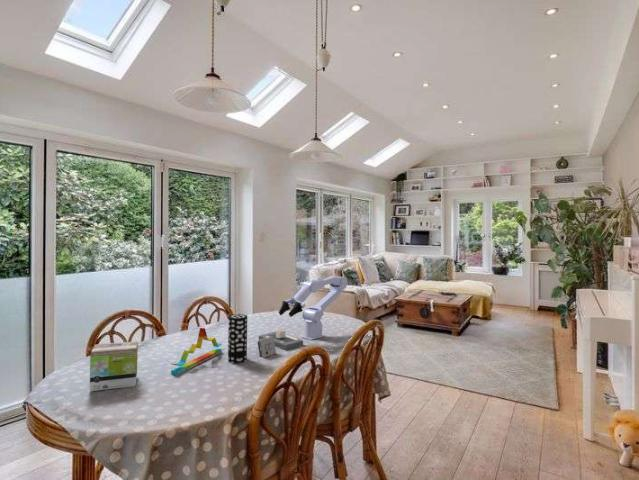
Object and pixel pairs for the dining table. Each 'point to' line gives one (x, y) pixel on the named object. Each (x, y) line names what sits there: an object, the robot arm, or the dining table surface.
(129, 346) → the tea box
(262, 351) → the electrical switch
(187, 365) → the chart
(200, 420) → the dining table surface
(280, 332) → the block
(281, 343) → the panel
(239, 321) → the white-spotted black cylinder
